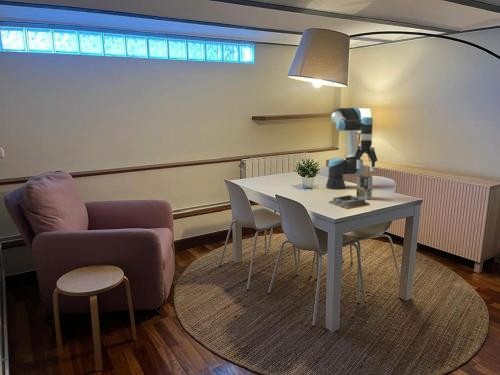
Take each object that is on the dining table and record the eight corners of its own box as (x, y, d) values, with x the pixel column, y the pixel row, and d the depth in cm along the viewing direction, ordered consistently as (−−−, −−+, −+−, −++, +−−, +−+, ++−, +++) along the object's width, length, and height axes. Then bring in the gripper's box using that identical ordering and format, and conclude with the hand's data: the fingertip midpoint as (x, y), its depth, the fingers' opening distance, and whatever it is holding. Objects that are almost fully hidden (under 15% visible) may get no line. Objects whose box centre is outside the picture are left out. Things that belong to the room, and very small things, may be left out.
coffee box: (371, 198, 273) (372, 176, 269) (367, 200, 269) (368, 177, 265) (360, 196, 279) (361, 174, 276) (355, 197, 275) (356, 176, 271)
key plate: (328, 202, 264) (328, 197, 263) (351, 198, 273) (351, 194, 272) (346, 208, 248) (346, 203, 248) (369, 204, 257) (369, 199, 256)
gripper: (349, 138, 274) (349, 167, 278) (375, 141, 252) (374, 173, 257) (357, 138, 277) (357, 166, 282) (383, 140, 255) (382, 171, 260)
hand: (365, 169), depth 269 cm, fingers open, 13 cm apart
